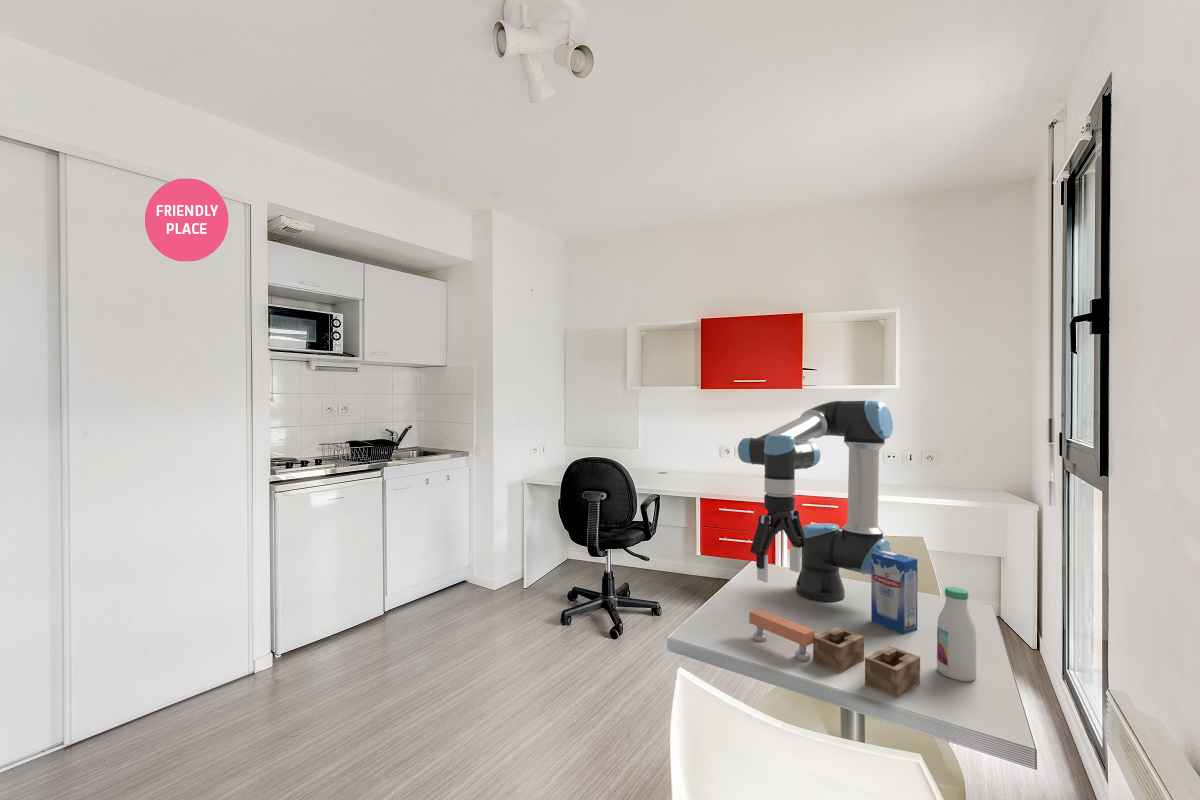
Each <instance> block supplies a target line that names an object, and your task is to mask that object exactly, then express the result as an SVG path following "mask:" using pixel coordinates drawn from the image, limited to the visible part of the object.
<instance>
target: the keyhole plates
mask: <svg viewBox="0 0 1200 800" xmlns="http://www.w3.org/2000/svg"><path fill="white" fill-rule="evenodd" d="M812 646H813V647H812V662H813V663H815V664H818V665H820V666H822V667H824V668H827V669H829V670H832V671H833V672H836V673H838V674H841V673H843V672H845V671H847V670H849V669H851V668H853V667H855V666H857V665H858V664H861V663H862V662H864V685H866V686H868V687H871V688H872V689H874V690H877V691H879V692H881V693H883V694H886V695H888V696H891V697H892V698H896V699H898V698H900V697H902V696H903V695H904V694H906V693H908V692H909V691H910V690H912V689H914V688H916V686H919V685H920V684H921V656H919V655H916V654H913V653H911V652H907V651H905V650H902V649H900V648H896V647H893V646H891V645H886V646H885V647H883V648H882V649H879V650H878V651H875V652H873V653H872V654H870V655H868V656H866V657H865V636H863V635H860V634H859V633H856V632H853V631H851V630H848V629H845V628H842V627H840V626H835V627H833V628H831V629H828V630H827V631H824V632H821V633H820V634H817V635H815V637H813V643H812Z"/></svg>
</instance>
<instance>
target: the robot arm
mask: <svg viewBox="0 0 1200 800" xmlns="http://www.w3.org/2000/svg"><path fill="white" fill-rule="evenodd" d="M893 422H894V421H893V418H892V414H891V411H890V409H889V407H888V406H887V405H886V404H885V403H884V402H882V401H876V400H834V401H829V402H825V403H821V404H819V405H817V406H814V407H811V408H809V409H808V410H805V411H803V412H802V413H801V414H800V417H798V418H796V419H794V420H792V421H790V422H787V423H786V424H783V425H782V426H780V427H778V428H775V429H774V430H772V431H769V432H767V433H765V434H763V435H760V436H759V437H745V438H742V439H741V440H740V442H739V443H738V446H737V453H738V458H739V460H740V461H741V462H743V463H745V464H751V465H759V466H760V465H761V466H764V476H763V477H764V492H765V494H764V497H763V498H764V499H763V501H764V503H763V507H764V509H765V510H766V511H767V513H766V515H763V514H759V515H758V523H757V527H756V530H755V533H754V537H753V540H752V544H751V547H750V550H749V551H750V553H751V554H754V555H755V556H756V563H755V564H756V579H757V580H758V581H760V582H763V583H768V582H769V571H768V570H769V556H768V555H767V552H768V550H769V549H770V546H771V544H772V542H773V540H774V538H775V535H778V534H779V532H782V531H784V534H785V535H786V536H787V539H788V540H789V542H790V543H791V545H789V571H791V572H794V573H798V574H799V575H798V577H797V579H796V583H795V592H796V593H797V594H799V596H802V597H803V598H806V599H809V600H814V601H818V602H819V601H821V602H839V601H842V600H844V599H845V597H846V593H845V587H844V584H843V582H842V579H841V575H840V569H845V570H849V571H852V572H855V573H859V574H862V575H870V576H871V553H875V552H880V551H888V552H892V550H891V549H892V548H891V544H890V540H888V539H886V538H884V531H883V530H882V529H881V528H880V527H879V526H878V523H879V522H878V521H879V516H878V515H879V481H880V480H879V477H880V476H879V475H880V472H879V471H880V466H879V465H880V449H882V447H883V446H884V445H886V443H885V441H886V440H888V439H890V438H891V436H892V435H893V433H892V432H893V429H894V425H893V424H894V423H893ZM823 436H826V437H828V436H833V437H834V436H835V437H843V443H844V444H845V445H846V446H847V447H848V476H847V477H848V481H847V482H848V485H847V487H848V489H847V522H846V523H845V524H844V525H843V526H841V528H840V526H839V525H838V524H836V523H830V522H829V523H827V522H826V523H822V522H819V523H809V524H806V525H804V526H802V524H801V519H800V511H799V510H795V503H796V501H795V500H796V499H795V498H796V497H795V496H794V494H795V493H796V491H795V490H796V486H795V485H796V483H795V482H796V481H795V479H796V477H795V475H796V474H795V473H796V472H795V471H796V470H802V469H804V470H805V469H807V470H808V469H810V468H812V467H815V466H816V465H817V464H818V463H819V462H820V460H821V456H822V455H821V450H820V448H819V446H818V445H817V443H815V442H813V441H811V439H819V438H821V437H823ZM840 529H841V530H840Z"/></svg>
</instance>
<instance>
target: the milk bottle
mask: <svg viewBox="0 0 1200 800" xmlns="http://www.w3.org/2000/svg"><path fill="white" fill-rule="evenodd" d="M944 594H945V595H944V597H945V603H944V604H943V607H942V610H941V611H940V612H939V615H938V618H937V624H936V625H937V627H936V628H937V629H936V631H937V632H936V634H937V635H936V653H937V654H936V667H937V670H938V672H939V673H940V674H941V675H943V676H945V677H947V678H950V679H952V680H956V681H960V682H973V681H975V679H976V678H977V629H976V623H975V620H974V619H973V618H974V617H973V616H972V614H971V611H970V609H969V606H968V602H969V592H968V590H966V589H964V588H962V587H957V586H946V587H944Z"/></svg>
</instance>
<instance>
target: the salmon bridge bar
mask: <svg viewBox="0 0 1200 800" xmlns="http://www.w3.org/2000/svg"><path fill="white" fill-rule="evenodd" d="M748 614H749V615H748V622H749V623H748V624H751V625H753V626H756V632H753V637H752V638H753V641H755V642H758V643H765V642H766V641H767V633H764V630H765V631H767V632H770V633H772V634H775V635H776V636H779V637H781V638H784V639H787V640H789V641H791V642H794V643H795V644H798V645H799V646H798V647H799V648H798V650H796V651H795V659H796V660H798V661H800V662H804V663H805V662H809V661H811V653H810V652H808V651H807V646H810V645H813V637H815V636H816V635H815V633H816V632H815V631H816V630H815V629H812V628H809V627H807V626H804V625H802V624H800V623H797V622H795V621H792V620H789V619H786V618H784V617H781V616H778V615H776V614H773V613H771V612H769V611H765V610H763V609H761V608H756V609H754V610H751V611H749V613H748Z"/></svg>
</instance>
